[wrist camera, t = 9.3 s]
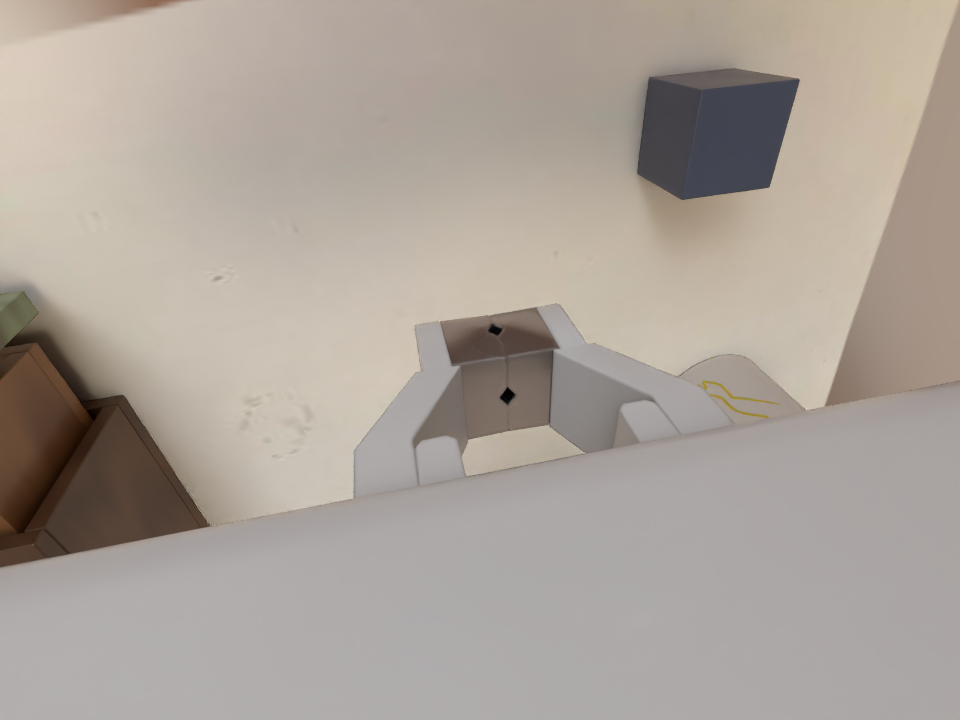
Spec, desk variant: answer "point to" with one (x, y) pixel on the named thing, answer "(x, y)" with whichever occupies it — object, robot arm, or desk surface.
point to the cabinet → (106, 493)
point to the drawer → (31, 420)
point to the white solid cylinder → (741, 388)
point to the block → (714, 131)
